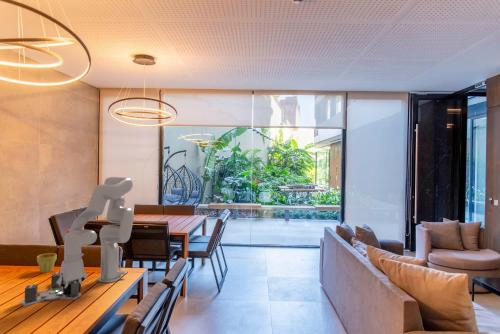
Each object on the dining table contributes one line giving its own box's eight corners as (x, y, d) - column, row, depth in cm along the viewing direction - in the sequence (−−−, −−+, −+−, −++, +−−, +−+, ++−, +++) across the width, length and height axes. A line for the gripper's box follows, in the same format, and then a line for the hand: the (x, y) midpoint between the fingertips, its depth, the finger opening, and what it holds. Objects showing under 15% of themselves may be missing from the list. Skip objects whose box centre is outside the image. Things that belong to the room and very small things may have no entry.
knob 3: (64, 295, 160) (65, 281, 160) (72, 292, 164) (72, 278, 164) (71, 297, 158) (71, 283, 158) (79, 293, 162) (79, 280, 162)
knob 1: (26, 298, 155) (27, 284, 155) (37, 297, 157) (37, 283, 157) (24, 302, 151) (24, 287, 151) (35, 300, 153) (35, 286, 153)
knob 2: (60, 287, 170) (61, 274, 170) (51, 288, 169) (51, 275, 169) (62, 284, 175) (62, 271, 175) (52, 285, 173) (52, 272, 173)
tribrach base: (84, 283, 180) (84, 278, 180) (80, 299, 159) (80, 293, 159) (29, 289, 170) (29, 284, 170) (18, 307, 149) (18, 301, 149)
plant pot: (49, 274, 193) (49, 258, 193) (32, 273, 194) (33, 257, 194) (59, 268, 204) (60, 253, 204) (43, 268, 204) (44, 252, 204)
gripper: (85, 252, 170) (85, 286, 170) (51, 260, 156) (50, 296, 156) (93, 255, 166) (92, 289, 166) (58, 262, 152) (57, 300, 152)
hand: (72, 292), depth 161 cm, fingers closed on knob 3, 5 cm apart
